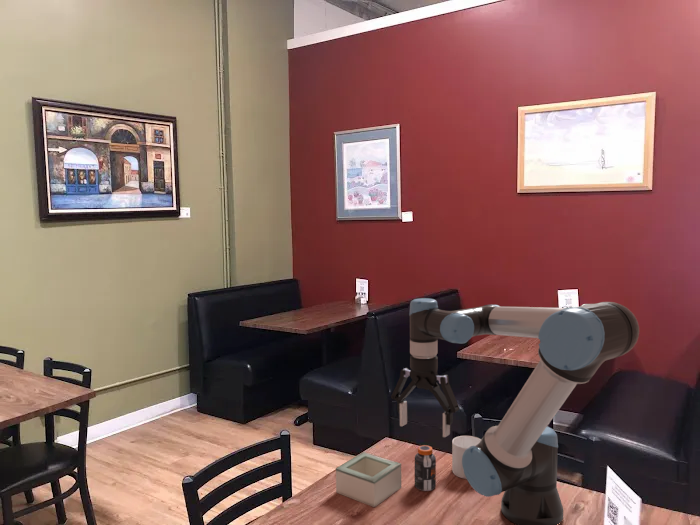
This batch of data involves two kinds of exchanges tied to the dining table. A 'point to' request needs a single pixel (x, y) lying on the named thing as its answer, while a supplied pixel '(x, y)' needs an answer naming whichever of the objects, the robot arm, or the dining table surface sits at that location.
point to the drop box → (368, 478)
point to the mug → (461, 452)
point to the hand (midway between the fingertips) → (424, 430)
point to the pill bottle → (425, 469)
